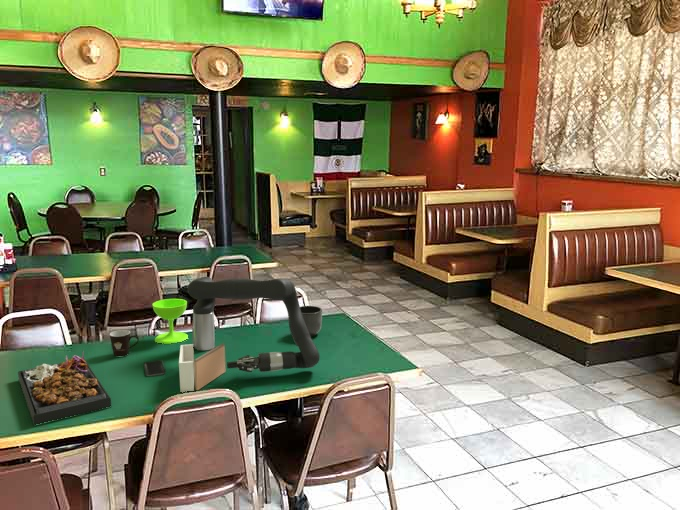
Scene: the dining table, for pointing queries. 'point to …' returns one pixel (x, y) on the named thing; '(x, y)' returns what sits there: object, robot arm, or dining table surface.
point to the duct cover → (209, 366)
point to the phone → (154, 368)
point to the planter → (312, 318)
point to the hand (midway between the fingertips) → (227, 365)
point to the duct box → (186, 368)
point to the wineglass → (170, 319)
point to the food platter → (62, 390)
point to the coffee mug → (121, 342)
